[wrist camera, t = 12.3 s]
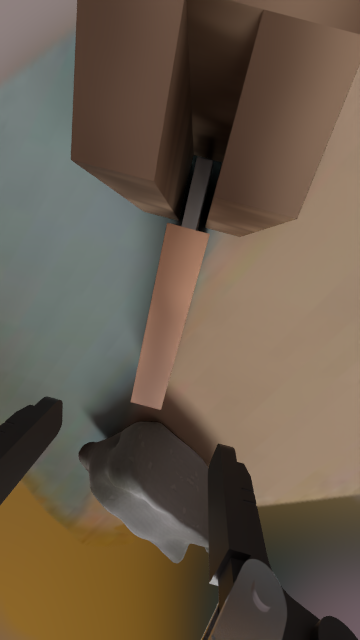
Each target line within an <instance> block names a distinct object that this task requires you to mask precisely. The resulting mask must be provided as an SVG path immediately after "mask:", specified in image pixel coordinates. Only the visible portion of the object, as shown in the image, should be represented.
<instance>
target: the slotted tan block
mask: <svg viewBox="0 0 360 640" xmlns="http://www.w3.org/2000/svg"><path fill="white" fill-rule="evenodd" d="M359 65H360V0H77V22H76V46H75V71H74V95H73V119H72V144H71V160H72V161H73V162H75V163H76V164H78V165H79V166H80V167H82V168H83V169H85V170H86V171H87V172H89V173H90V174H92V175H93V176H95V177H96V178H97V179H99V180H100V181H102V182H103V183H104V184H106V185H107V186H109V187H110V188H111V189H113V190H114V191H116V192H117V193H119V194H120V195H121V196H123V197H124V198H126V199H127V200H128V201H130V202H131V203H133V204H134V205H135V206H137V207H138V208H140V209H141V210H143V211H144V212H147V213H151V214H155V215H159V216H163V217H167V218H170V219H174V220H178V221H179V220H180V216H181V211H182V207H183V202H184V197H185V193H186V188H187V184H188V179H189V175H190V170H191V165H192V161H193V156H194V155H196V156H200V157H204V158H207V159H211V160H215V161H219V162H222V165H221V169H220V172H219V176H218V180H217V184H216V188H215V191H214V195H213V199H212V203H211V207H210V210H209V214H208V218H207V222H206V226H205V228H209V229H212V230H216V231H220V232H224V233H228V234H232V235H235V236H239V237H241V236H244V235H247V234H250V233H254V232H257V231H260V230H263V229H266V228H269V227H273V226H276V225H279V224H282V223H285V222H288V221H292V220H295V219H297V218H298V215H299V213H300V210H301V208H302V205H303V203H304V200H305V198H306V195H307V193H308V190H309V188H310V186H311V183H312V181H313V178H314V176H315V173H316V171H317V168H318V166H319V163H320V161H321V158H322V156H323V153H324V151H325V149H326V146H327V144H328V141H329V139H330V136H331V134H332V131H333V129H334V126H335V124H336V121H337V119H338V116H339V114H340V112H341V109H342V107H343V104H344V102H345V99H346V97H347V94H348V92H349V89H350V87H351V84H352V82H353V79H354V77H355V75H356V72H357V70H358V67H359Z"/></svg>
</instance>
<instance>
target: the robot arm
mask: <svg viewBox="0 0 360 640" xmlns="http://www.w3.org/2000/svg"><path fill="white" fill-rule="evenodd" d="M62 404H63V403H62V401H61V400H58V399H54V398H51V397H44V398H43V399H41V400H40V401H39V402H38V403H37V404H36V405H35V406H33V405H29V406H27V407H25V408H23V409H21V410H19V411H17V412H16V413H14V414H13V415H12V416H11V417H10V418H9V419H7V420H6V421H5V423H3V424H1V425H0V505H1V504H2V502H3V501H4V500H5V499H6V497H7V496H8V495H9V494H10V493H11V491H12V490H13V489H14V487H15V486H16V485H17V484H18V483H19V481H20V480H21V479H22V478H23V476H24V475H25V474H26V473H27V471H28V470H29V469H30V468H31V466H32V465H33V464H34V463H35V462H36V460H37V459H38V458H39V457H40V455H41V454H42V453H43V452H44V450H45V449H46V448H47V447H48V445H49V444H50V443H51V442H52V440H53V439H54V438H55V437H56V435H57V434H58V432H59V430H60V428H61V425H62ZM253 492H254V490H253V485H252V480H251V476H250V474H249V473H248V471H247V469H246V467H245V465H244V464H243V463H239V462H237V459H236V453H235V449H234V448H233V447H230V446H226V445H222V444H218V445H217V447H216V449H215V452H214V454H213V457H212V459H211V462H210V465H209V469H208V532H209V583H210V584H213V585H217V586H218V590H219V591H218V593H219V603H218V605H217V607H216V609H215V611H214V613H213V616H212V618H211V620H210V622H209V624H208V626H207V629H206V631H205V633H204V635H203V637H202V639H201V640H358V639H357V638H356V636H355V635H354V634H353V632H352V631H351V630H350V629H349V628H348V627H347V626H346V625H345V624H344V623H342V622H341V621H340V620H338V619H337V618H334V617H332V616H326V617H324V618H322V619H321V620H320V619H318V618H317V617H316V616H314V615H313V614H312V613H311V612H309V611H308V610H306V609H305V608H304V607H303V606H301V605H300V604H299V603H298V602H296V601H295V600H294V599H293V598H291V597H290V596H289V595H288V594H287V593H286V591H285V590H284V589H283V588H282V586H281V585H280V583H279V581H278V580H277V578H276V576H275V575H274V573H273V571H272V569H271V567H270V564H269V561H268V557H267V553H266V548H265V543H264V539H263V533H262V529H261V524H260V519H259V514H258V509H257V506H256V500H255V495H254V493H253Z"/></svg>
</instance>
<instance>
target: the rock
mask: <svg viewBox="0 0 360 640" xmlns="http://www.w3.org/2000/svg"><path fill="white" fill-rule="evenodd" d="M79 460H80V462H81V464H82V465H83V466H84V467H85V468H86V470H87V471H88V472H89V478H90V488H91V491H92V493H93V495H94V496H95V497H96V499H97V500H98V501H99V502H100V503H101V505H102V506H103V507H104V508H105V509H106V510H107V511H109V512H110V513H111V514H113V515H115V516H116V517H118V518H119V519H121V520H122V521H123V522H124V524H125V525H126V526H127V527H128V529H129V530H130V531H131V532H132V533H134V534H135V535H136V536H138V537H140V538H143V539H147V540H149V541H151V542H152V543H153V544H155V545H156V546H157V547H159V549H160V550H161V551H162V552H163V553H164V554H165V555H166V556H167V557H168V558H169V559H170V560H171V561H172V562H174V563H179V562H180V561H181V560H182V559H183V558H184V555H185V553H186V550H187V548H188V545H189V544H190V543H193V544H196V545H199V546H204V547H205V548H206V551H207V552H208V553H209V532H208V467H207V465H206V464H205V462H204V461H203V459H202V458H201V457H200V456H199V455H198V454H197V453H196V452H195V451H193V450H192V449H191V448H190V447H189V446H188V445H186V444H185V443H184V442H182V441H181V440H180V439H179V438H177V437H176V436H175V435H174V434H173V433H172V432H170V431H169V430H168V429H167V428H166V427H165V426H164V425H162V424H161V423H158V422H137V423H134V424H132V425H131V426H129V427H127V428H126V429H124V430H123V431H122V432H120V433H118V434H116V435H114V436H112V437H110V438H108V439H105V440H102V441H100V442H89V443H87V444H85V445H84V446H83V447H82V448H81V450H80V451H79Z"/></svg>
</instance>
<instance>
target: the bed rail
mask: <svg viewBox="0 0 360 640" xmlns="http://www.w3.org/2000/svg"><path fill="white" fill-rule="evenodd" d="M212 165H213V161H211V160H207V159H203V158H200V157H197V161H196V165H195V169H194V174H193V178H192V182H191V187H190V191H189V196H188V200H187V204H186V209H185V213H184V217H183V222H182V226H178V225H174V224H170V223H167V227H166V232H165V236H164V241H163V246H162V251H161V256H160V261H159V266H158V271H157V276H156V280H155V285H154V290H153V295H152V300H151V305H150V310H149V315H148V319H147V324H146V329H145V334H144V339H143V344H142V349H141V354H140V359H139V363H138V368H137V373H136V378H135V383H134V388H133V393H132V398H131V402H133V403H136V404H140V405H144V406H148V407H151V408H155V409H159V410H161V408H162V404H163V400H164V397H165V393H166V390H167V386H168V382H169V379H170V375H171V372H172V368H173V364H174V361H175V357H176V354H177V350H178V346H179V343H180V339H181V336H182V332H183V328H184V325H185V321H186V318H187V314H188V310H189V307H190V303H191V300H192V296H193V292H194V289H195V285H196V282H197V278H198V274H199V271H200V267H201V264H202V260H203V256H204V253H205V249H206V246H207V242H208V238H209V235H210V234H208V233H204V232H200V231H198V227H199V223H200V219H201V215H202V211H203V207H204V203H205V199H206V195H207V191H208V188H209V183H210V177H211V171H212Z"/></svg>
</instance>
